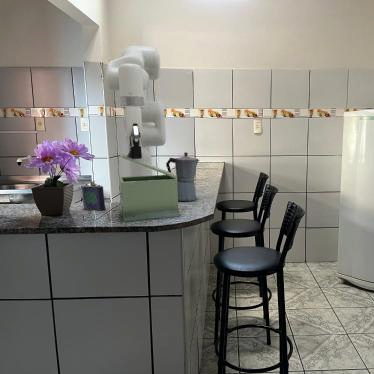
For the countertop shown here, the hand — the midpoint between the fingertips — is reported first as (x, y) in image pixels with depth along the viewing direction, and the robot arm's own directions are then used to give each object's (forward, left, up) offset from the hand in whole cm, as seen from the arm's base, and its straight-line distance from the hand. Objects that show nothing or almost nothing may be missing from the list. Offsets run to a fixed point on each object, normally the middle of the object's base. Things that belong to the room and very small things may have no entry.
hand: (135, 157), depth 122 cm
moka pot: (-22, +20, -20) cm, 36 cm away
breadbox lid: (0, +4, -3) cm, 5 cm away
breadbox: (0, +3, -20) cm, 20 cm away
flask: (-18, -15, -20) cm, 31 cm away
